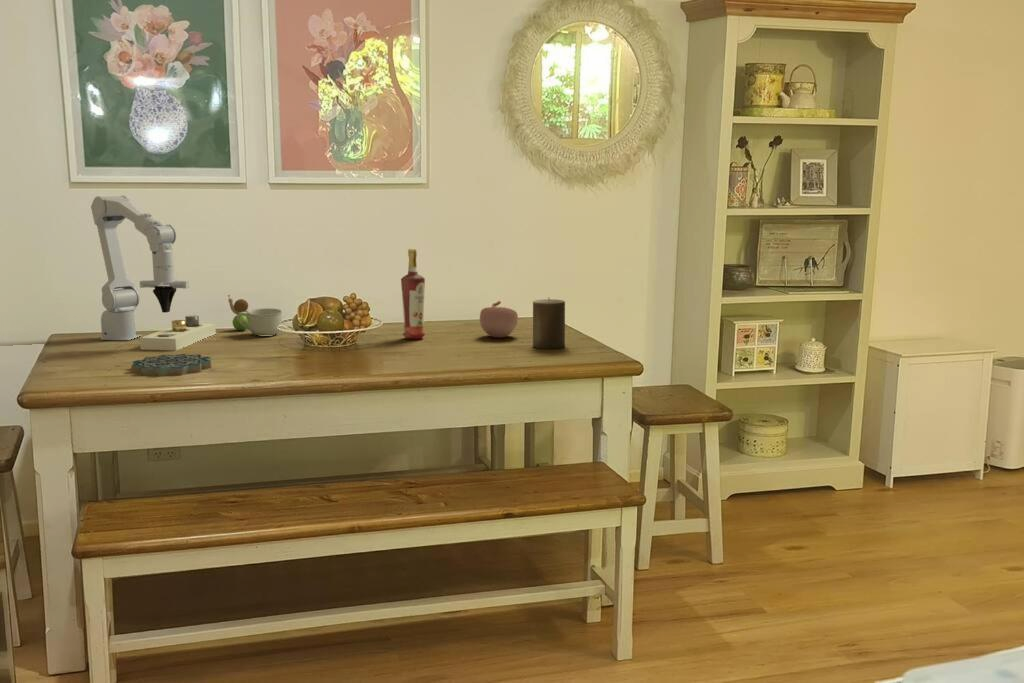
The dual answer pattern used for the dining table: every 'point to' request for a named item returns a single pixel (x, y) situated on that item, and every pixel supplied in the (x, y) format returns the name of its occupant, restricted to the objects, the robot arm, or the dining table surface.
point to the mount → (177, 338)
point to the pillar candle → (549, 323)
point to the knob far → (192, 321)
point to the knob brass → (178, 325)
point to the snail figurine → (237, 308)
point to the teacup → (262, 320)
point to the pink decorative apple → (498, 320)
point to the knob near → (165, 335)
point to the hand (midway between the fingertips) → (166, 312)
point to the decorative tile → (171, 365)
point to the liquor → (413, 299)
